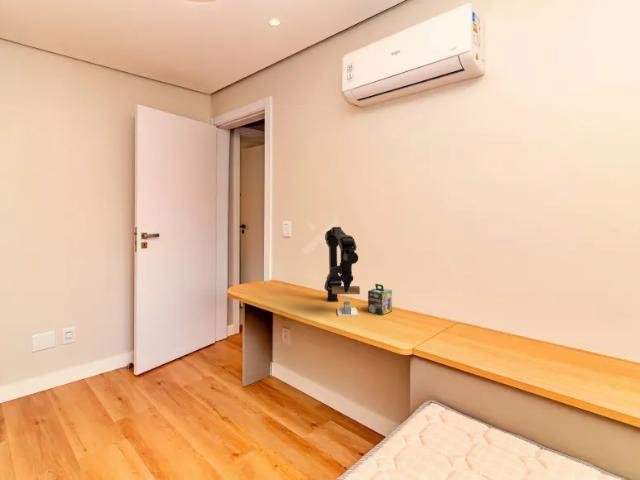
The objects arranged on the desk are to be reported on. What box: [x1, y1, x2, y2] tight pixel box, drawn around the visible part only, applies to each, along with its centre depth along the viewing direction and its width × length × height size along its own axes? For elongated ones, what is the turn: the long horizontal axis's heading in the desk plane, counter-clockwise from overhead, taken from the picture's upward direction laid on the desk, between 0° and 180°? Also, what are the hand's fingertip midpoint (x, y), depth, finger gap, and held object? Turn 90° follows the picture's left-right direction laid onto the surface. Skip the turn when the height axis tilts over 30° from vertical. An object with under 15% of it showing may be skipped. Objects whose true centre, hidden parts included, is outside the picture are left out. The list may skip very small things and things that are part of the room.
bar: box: [332, 285, 361, 295], centre depth 181 cm, size 3×14×4 cm, turn 88°
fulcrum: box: [336, 300, 359, 317], centre depth 181 cm, size 12×10×4 cm
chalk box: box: [367, 283, 393, 316], centre depth 183 cm, size 9×9×15 cm
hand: (345, 291), depth 181 cm, fingers closed on bar, 3 cm apart
